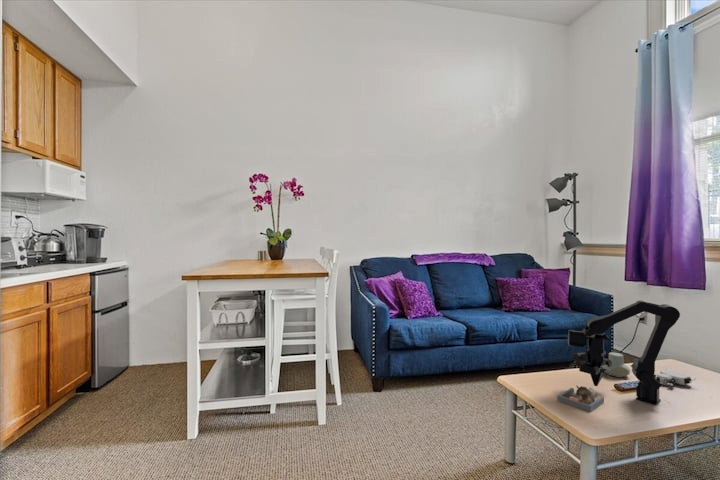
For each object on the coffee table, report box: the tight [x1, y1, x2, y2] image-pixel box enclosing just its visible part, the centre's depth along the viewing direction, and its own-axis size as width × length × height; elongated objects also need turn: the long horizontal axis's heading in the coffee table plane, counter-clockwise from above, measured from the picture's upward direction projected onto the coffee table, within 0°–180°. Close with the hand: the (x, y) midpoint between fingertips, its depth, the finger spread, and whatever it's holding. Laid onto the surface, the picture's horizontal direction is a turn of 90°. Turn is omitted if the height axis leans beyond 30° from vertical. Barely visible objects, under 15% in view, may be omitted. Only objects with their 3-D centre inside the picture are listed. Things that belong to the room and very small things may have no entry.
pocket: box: [556, 387, 605, 413], centre depth 145 cm, size 12×13×3 cm
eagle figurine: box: [575, 385, 596, 405], centre depth 144 cm, size 8×7×9 cm
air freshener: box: [602, 351, 631, 378], centre depth 174 cm, size 11×8×10 cm
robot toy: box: [654, 368, 697, 387], centre depth 164 cm, size 12×4×15 cm
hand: (595, 385), depth 154 cm, fingers closed
